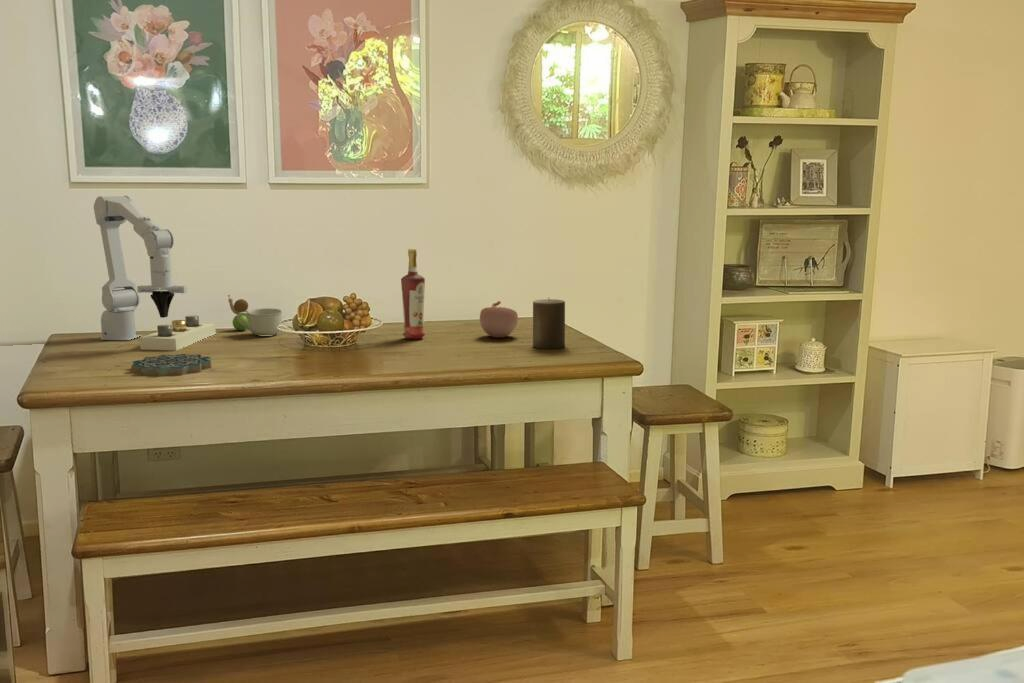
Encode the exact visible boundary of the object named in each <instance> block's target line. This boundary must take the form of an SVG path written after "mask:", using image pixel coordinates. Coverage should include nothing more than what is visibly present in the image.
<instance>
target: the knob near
mask: <svg viewBox="0 0 1024 683" xmlns="http://www.w3.org/2000/svg"><path fill="white" fill-rule="evenodd" d="M157 332H158V336H159V337H168V336H172V324H159V325H157Z"/></svg>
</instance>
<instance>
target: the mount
mask: <svg viewBox="0 0 1024 683" xmlns="http://www.w3.org/2000/svg"><path fill="white" fill-rule="evenodd" d="M214 334H216V335H217V332H216V323H199V326H196V327H186V331H181V332H174V331H172V336H168V337H159V336H158V331H157V332H153V333H150V334H148V335H144V336H141V337H139V343H140V350H141V349H142V350H147V351H179V350H182V349H183V347H184V348H186V347H188V345H189V346H192V345H194V344H196V343H198V342H197V341H199V342H201V341H203V340H202V339H204V338H206V339H208V338H207V337H209V336H211V337H213V336H212V335H214ZM214 336H215V335H214ZM209 338H210V337H209ZM200 340H201V341H200ZM204 340H205V339H204ZM195 342H196V343H195ZM193 343H194V344H193ZM142 350H141V351H142Z"/></svg>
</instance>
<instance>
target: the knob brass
mask: <svg viewBox="0 0 1024 683" xmlns="http://www.w3.org/2000/svg"><path fill="white" fill-rule="evenodd" d="M171 325H172V331H174V332H181V331H186V320H185V319H175V320H171Z"/></svg>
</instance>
